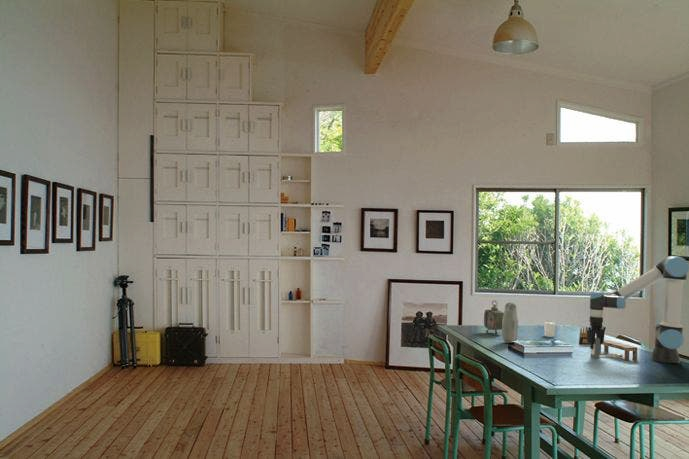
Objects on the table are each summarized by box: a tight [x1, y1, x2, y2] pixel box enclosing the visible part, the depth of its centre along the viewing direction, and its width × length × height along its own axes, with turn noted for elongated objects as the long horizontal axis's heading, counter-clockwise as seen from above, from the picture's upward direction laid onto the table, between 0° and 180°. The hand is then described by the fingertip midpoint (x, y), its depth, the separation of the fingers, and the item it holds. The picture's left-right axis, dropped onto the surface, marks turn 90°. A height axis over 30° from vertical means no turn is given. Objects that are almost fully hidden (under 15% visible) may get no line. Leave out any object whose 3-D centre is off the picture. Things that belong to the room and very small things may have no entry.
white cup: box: [543, 321, 557, 338], centre depth 387 cm, size 8×8×10 cm
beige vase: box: [501, 302, 519, 344], centre depth 355 cm, size 10×10×28 cm
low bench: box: [600, 339, 638, 362], centre depth 325 cm, size 24×8×8 cm, turn 18°
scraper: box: [590, 336, 621, 359], centre depth 322 cm, size 18×6×12 cm, turn 108°
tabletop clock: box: [483, 300, 504, 336], centre depth 390 cm, size 14×9×25 cm, turn 17°
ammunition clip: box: [578, 327, 590, 346], centre depth 360 cm, size 11×2×12 cm, turn 87°
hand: (595, 354), depth 320 cm, fingers closed on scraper, 3 cm apart
